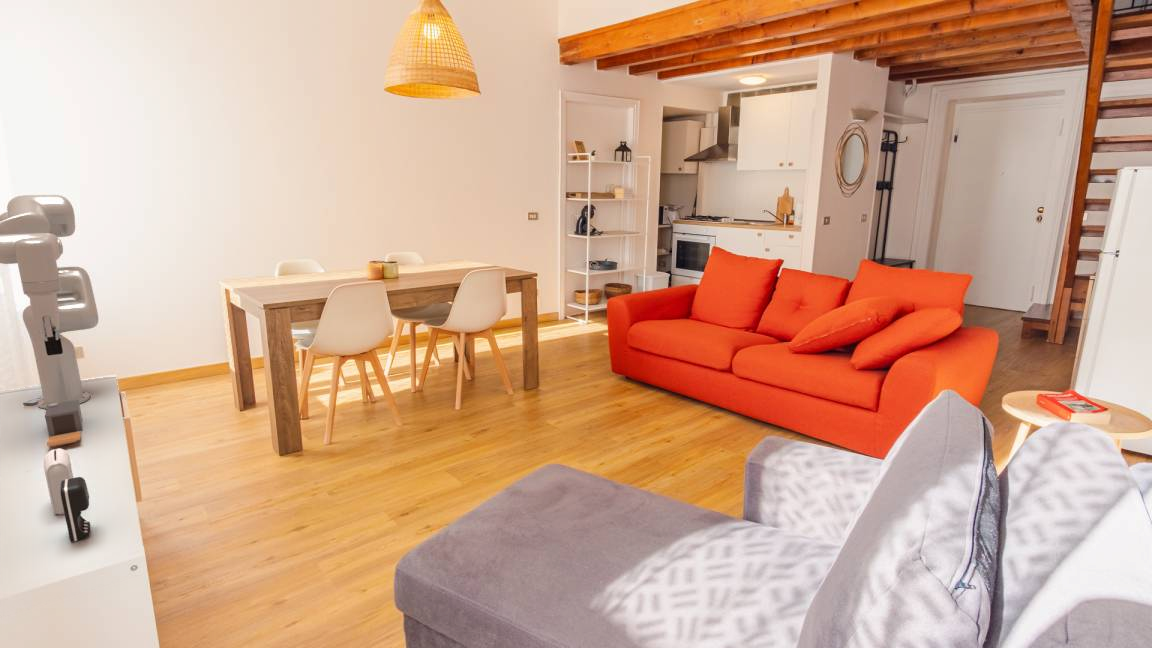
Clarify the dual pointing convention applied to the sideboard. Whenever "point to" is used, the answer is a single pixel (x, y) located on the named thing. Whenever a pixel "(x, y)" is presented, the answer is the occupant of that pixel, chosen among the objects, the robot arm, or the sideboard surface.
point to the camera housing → (63, 418)
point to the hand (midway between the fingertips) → (55, 353)
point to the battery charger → (75, 507)
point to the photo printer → (57, 475)
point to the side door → (64, 438)
